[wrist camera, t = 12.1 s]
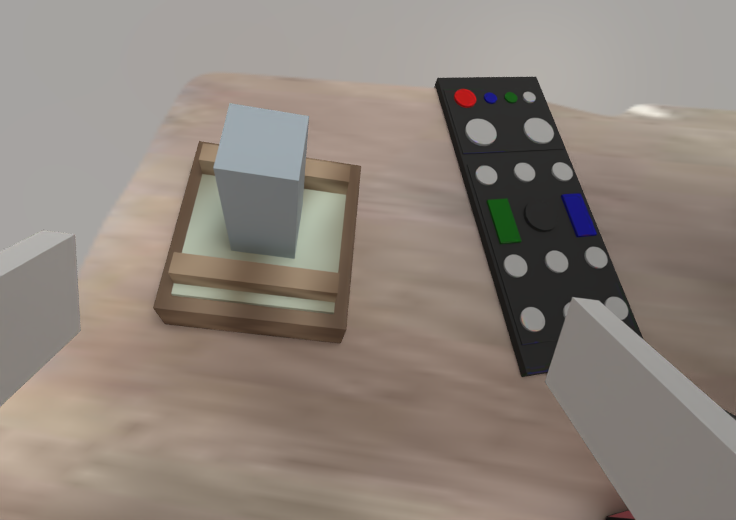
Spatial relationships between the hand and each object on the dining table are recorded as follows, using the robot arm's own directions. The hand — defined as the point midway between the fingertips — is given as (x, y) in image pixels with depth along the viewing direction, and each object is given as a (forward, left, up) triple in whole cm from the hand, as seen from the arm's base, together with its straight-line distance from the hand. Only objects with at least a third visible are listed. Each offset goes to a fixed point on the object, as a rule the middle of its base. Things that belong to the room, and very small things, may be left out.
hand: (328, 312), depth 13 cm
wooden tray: (+4, -13, -24) cm, 27 cm away
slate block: (+4, -13, -20) cm, 24 cm away
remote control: (-19, -21, -25) cm, 37 cm away
